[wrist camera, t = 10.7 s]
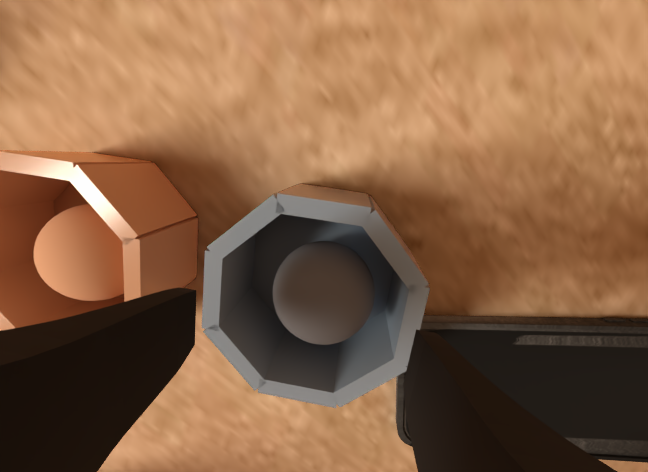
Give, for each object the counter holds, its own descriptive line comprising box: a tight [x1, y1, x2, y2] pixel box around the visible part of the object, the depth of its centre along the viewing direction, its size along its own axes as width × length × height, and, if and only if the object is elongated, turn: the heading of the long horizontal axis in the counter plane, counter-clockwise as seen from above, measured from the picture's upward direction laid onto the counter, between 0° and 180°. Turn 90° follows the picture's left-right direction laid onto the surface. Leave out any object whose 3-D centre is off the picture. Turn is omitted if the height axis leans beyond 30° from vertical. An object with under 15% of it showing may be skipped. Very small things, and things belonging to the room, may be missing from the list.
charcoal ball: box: [273, 241, 375, 345], centre depth 13 cm, size 4×4×4 cm
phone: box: [396, 315, 648, 462], centre depth 16 cm, size 8×1×15 cm
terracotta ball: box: [34, 204, 124, 301], centre depth 14 cm, size 4×4×4 cm
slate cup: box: [202, 183, 430, 408], centre depth 14 cm, size 8×8×4 cm
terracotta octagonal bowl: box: [0, 150, 198, 330], centre depth 15 cm, size 8×8×4 cm
